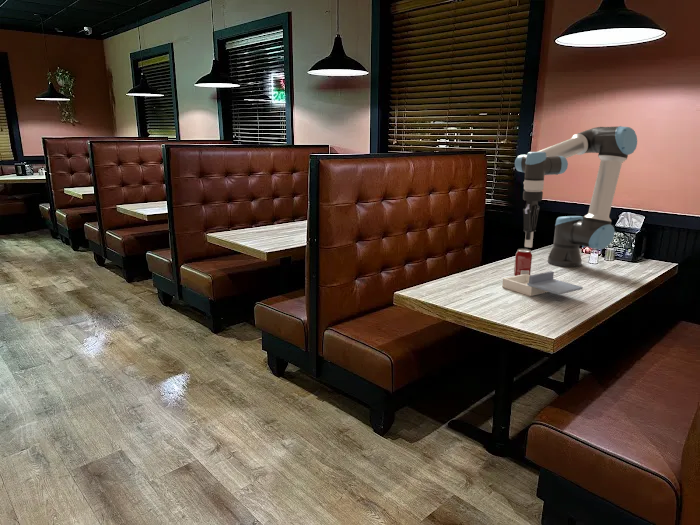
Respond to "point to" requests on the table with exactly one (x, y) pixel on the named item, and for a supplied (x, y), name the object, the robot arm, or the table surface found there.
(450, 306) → the table surface
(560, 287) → the lid
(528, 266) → the soda can
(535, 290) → the mailer box
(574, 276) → the table surface
